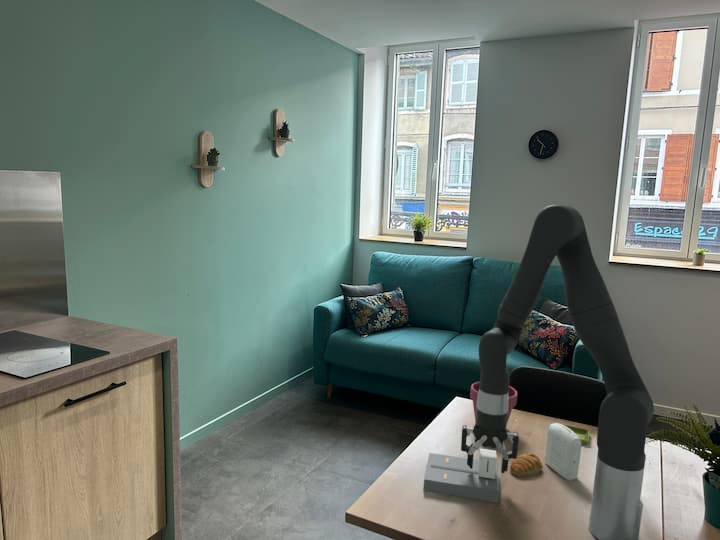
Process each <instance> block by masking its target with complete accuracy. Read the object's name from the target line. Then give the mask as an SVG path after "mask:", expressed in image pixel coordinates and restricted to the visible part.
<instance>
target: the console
mask: <svg viewBox="0 0 720 540" xmlns="http://www.w3.org/2000/svg"><path fill="white" fill-rule="evenodd" d="M467 458H468V457H460V456H453V455H447V454H446V455H445V454H442V453H441V454H440V453H434V452H429V453H428V458H427V463H426V467H425V468H426V469H425V473H424V478H423V491H425V492H430V493H437V494H442V495H446V496H447V495H448V496H454V497H459V498H460V497H461V498H466V499H467V498H468V499H472V500H478V501H484V502H490V503H491V502H492V503H497V504H500V503H499V501H500V492H501V491H500V490H501V489H500V477H499V462H496V474H495V479H492V478H485V477H479V476H478V467H479V459H474V458H473V467H472V469H471V468H470V466H468V465H467ZM423 491H422V492H423Z"/></svg>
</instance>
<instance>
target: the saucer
mask: <svg viewBox="0 0 720 540" xmlns="http://www.w3.org/2000/svg"><path fill="white" fill-rule="evenodd" d="M561 424H562V425H564V426H566V427H568V428H569V429H571V430H572V431H573V432H574V433H575V434H576V435H577V436H578V437H579V439H580V440H581V445H583V444H584V445H586V444H587V443H588V442H589V441H590V429H587V428H583V427H577V426H572V425H567V424H563V423H561Z"/></svg>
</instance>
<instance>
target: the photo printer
mask: <svg viewBox="0 0 720 540" xmlns="http://www.w3.org/2000/svg"><path fill="white" fill-rule="evenodd" d="M562 424H563V423H557V422H555V423H551V424H549V427H548V430H547V438H546V443H545V445H546V446H545V454H544V463H545V464H547V465H548V466H549V467H550V468H551V469H552V470H554V471H555V472H556V473H557V474H559V475H560V477H562V478H563V479H565V480H569V481H574V480H576V478H578V474H579V470H580V469H579V467H580V460H581V453H582V443H581V440H580V439H579V437H578V436H577V435H576V434H575V433H574V432H573V431H572V430H571V429H569V428H568V427H566V426H564V425H565V424H564V425H562Z"/></svg>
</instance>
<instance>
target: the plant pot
mask: <svg viewBox="0 0 720 540" xmlns="http://www.w3.org/2000/svg"><path fill="white" fill-rule="evenodd" d="M470 386H471V387H470V393H469V395H470V396H469V397H470V399H471V401H472V406H473V412H474V421H476V409H477V397H478V392H479V386H480V381H477V382H474V383H472V384H471V385H470ZM508 397H509V404H508V415H507V424H508V422H509V419H510V416H511V413H512V411H513V408H514V407H516V406H517V402H518V391H517V390H516V389H515V388H514V387H512V386H510V385H509V392H508Z"/></svg>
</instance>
